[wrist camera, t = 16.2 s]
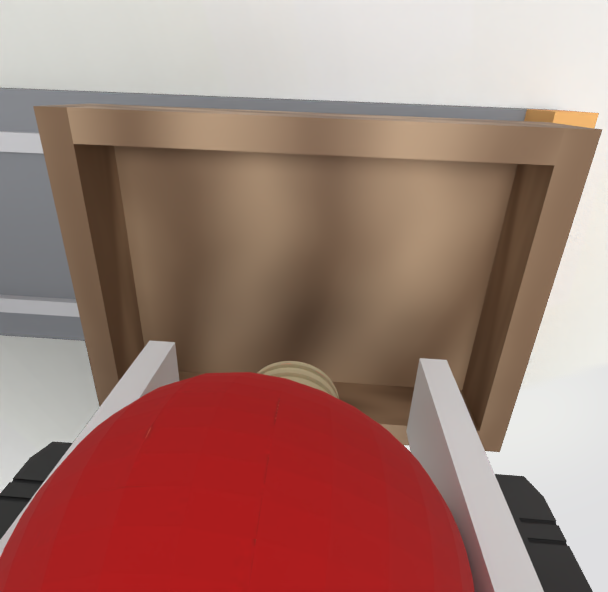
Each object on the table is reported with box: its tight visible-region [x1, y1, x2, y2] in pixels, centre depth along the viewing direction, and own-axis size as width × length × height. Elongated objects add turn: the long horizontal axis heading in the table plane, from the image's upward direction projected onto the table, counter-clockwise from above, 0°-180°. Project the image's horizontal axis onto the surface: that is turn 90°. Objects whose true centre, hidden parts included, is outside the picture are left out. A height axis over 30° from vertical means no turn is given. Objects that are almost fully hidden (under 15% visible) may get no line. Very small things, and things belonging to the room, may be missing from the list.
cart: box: [33, 104, 602, 452], centre depth 21 cm, size 19×14×7 cm
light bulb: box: [0, 361, 475, 592], centre depth 8 cm, size 9×7×10 cm
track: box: [0, 88, 599, 341], centre depth 24 cm, size 35×15×4 cm, turn 88°
